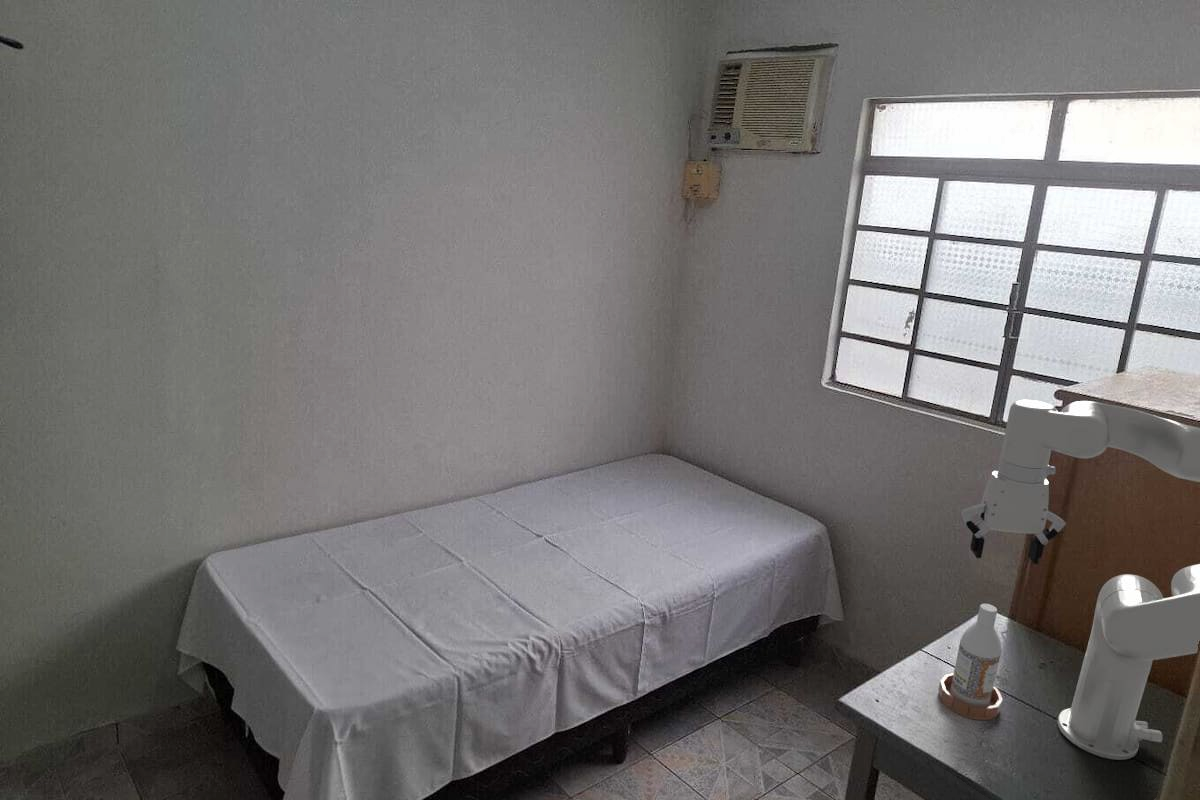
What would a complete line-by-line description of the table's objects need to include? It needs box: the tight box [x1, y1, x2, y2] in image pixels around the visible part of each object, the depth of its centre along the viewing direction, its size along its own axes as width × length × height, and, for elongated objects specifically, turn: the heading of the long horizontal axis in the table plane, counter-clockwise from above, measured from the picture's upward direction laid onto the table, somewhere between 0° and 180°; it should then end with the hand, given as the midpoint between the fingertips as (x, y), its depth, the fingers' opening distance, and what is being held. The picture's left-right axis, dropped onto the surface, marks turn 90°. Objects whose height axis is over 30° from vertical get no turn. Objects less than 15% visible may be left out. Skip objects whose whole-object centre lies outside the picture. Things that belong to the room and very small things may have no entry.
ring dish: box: [938, 672, 1004, 722], centre depth 152 cm, size 11×11×3 cm
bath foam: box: [950, 603, 1002, 707], centre depth 149 cm, size 7×7×20 cm
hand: (1004, 557), depth 145 cm, fingers open, 9 cm apart
